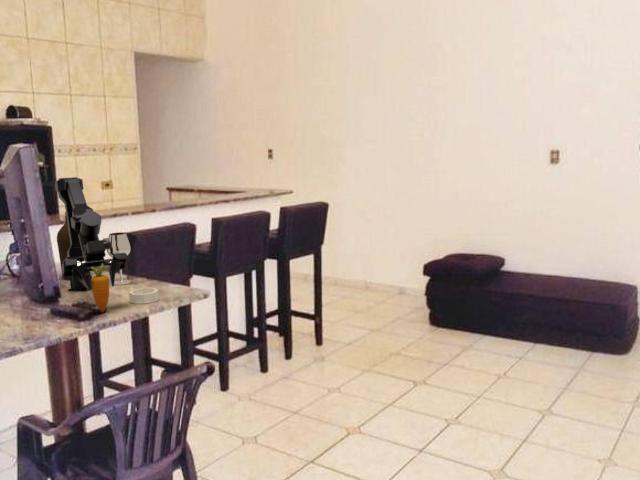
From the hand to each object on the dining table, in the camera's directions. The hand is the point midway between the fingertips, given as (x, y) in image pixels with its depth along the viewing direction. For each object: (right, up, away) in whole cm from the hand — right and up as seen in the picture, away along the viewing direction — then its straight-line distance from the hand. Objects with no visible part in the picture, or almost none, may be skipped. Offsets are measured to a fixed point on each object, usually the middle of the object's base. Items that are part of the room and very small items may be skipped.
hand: (101, 287), depth 185 cm
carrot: (0, -8, +3) cm, 8 cm away
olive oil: (-27, 0, +50) cm, 57 cm away
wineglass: (-7, -2, +40) cm, 40 cm away
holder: (+9, -5, +15) cm, 18 cm away
